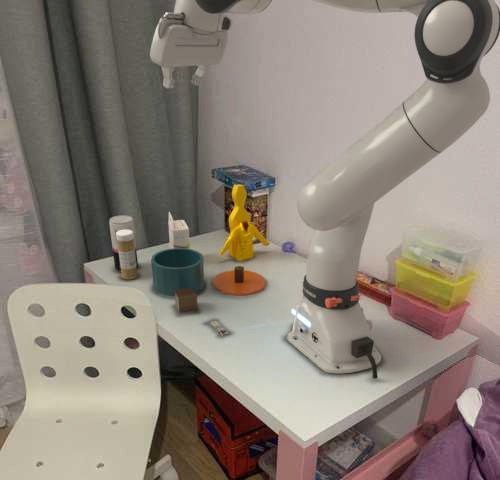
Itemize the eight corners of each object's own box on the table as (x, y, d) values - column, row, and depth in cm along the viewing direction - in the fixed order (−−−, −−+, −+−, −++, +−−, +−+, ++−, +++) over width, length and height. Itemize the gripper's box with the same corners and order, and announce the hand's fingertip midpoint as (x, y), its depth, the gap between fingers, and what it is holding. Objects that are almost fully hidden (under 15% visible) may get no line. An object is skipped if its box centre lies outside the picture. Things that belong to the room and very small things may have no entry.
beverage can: (111, 267, 143) (104, 218, 135) (130, 261, 147) (125, 213, 139) (122, 275, 139) (116, 224, 131) (142, 268, 143) (137, 219, 135)
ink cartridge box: (191, 266, 145) (189, 219, 137) (174, 268, 144) (171, 220, 136) (185, 255, 152) (183, 209, 145) (169, 257, 151) (167, 210, 143)
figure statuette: (222, 267, 145) (222, 194, 134) (210, 258, 151) (209, 187, 140) (272, 256, 153) (276, 186, 142) (259, 247, 159) (261, 179, 148)
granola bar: (207, 324, 117) (207, 320, 117) (215, 322, 119) (215, 318, 118) (221, 337, 113) (221, 333, 112) (229, 335, 114) (229, 331, 113)
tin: (209, 294, 130) (209, 265, 126) (159, 301, 126) (156, 271, 122) (197, 273, 141) (196, 245, 137) (149, 279, 137) (147, 251, 133)
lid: (273, 293, 132) (274, 275, 129) (221, 300, 127) (221, 283, 124) (254, 270, 143) (255, 254, 141) (206, 277, 139) (206, 260, 136)
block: (197, 312, 122) (197, 296, 119) (179, 315, 120) (178, 298, 118) (193, 303, 125) (192, 288, 123) (175, 306, 124) (174, 290, 122)
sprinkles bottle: (133, 272, 141) (128, 227, 134) (140, 277, 138) (136, 232, 131) (118, 276, 138) (112, 231, 132) (125, 281, 135) (120, 236, 128)
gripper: (175, 17, 87) (161, 95, 96) (237, 22, 103) (220, 89, 111) (149, 4, 89) (137, 82, 98) (214, 11, 104) (199, 77, 113)
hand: (182, 85), depth 104 cm, fingers open, 8 cm apart
